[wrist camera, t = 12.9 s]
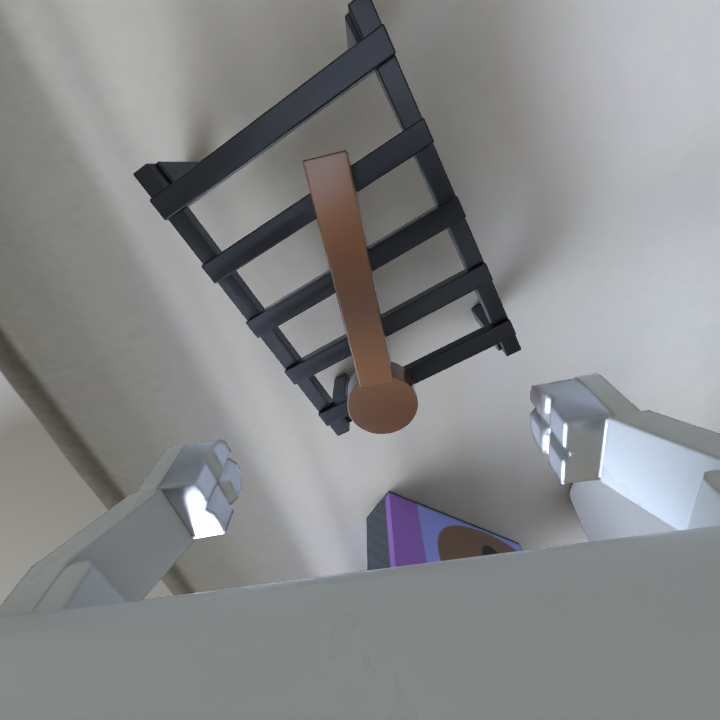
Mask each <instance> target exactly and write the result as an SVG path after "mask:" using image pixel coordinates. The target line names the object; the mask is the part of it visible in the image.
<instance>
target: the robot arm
mask: <svg viewBox="0 0 720 720" xmlns="http://www.w3.org/2000/svg"><path fill="white" fill-rule="evenodd" d="M530 400H531V401H532V403H533V404H534V406H535V409H534V410H533V411H532V412H531V414H530V420H531V428H532V433H533V436H534V439H535V441H536V443H537V445H538V447H539V448H540V450H541V451H543V452H545V453H547V454H549V465H550V466H551V468H552V469H553V471H554V473H555V474H556V476H557V477H558V479H559V480H560V482H561V484H568V483H577V482H585V481H593V480H601V482H602V483H604V484H605V485H607V486H609V487H610V488H612V489H613V490H615V491H617V492H618V493H620V494H621V495H623V496H624V497H626V498H628V499H629V500H631V501H632V502H634V503H636V504H637V505H639V506H640V507H642V508H643V509H645V510H647V511H648V512H650V513H651V514H653V515H655V516H656V517H658V518H659V519H661V520H662V521H664V522H666V523H667V524H669V525H670V526H672V527H674V528H675V529H677V531H670V532H662V533H654V534H647V535H639V536H631V537H623V538H616V539H608V540H600V541H592V542H585V543H577V544H569V545H562V546H554V547H546V548H538V549H531V550H523V551H515V552H507V553H499V554H492V555H484V556H476V557H468V558H461V559H453V560H445V561H437V562H430V563H422V564H414V565H406V566H399V567H391V568H383V569H376V570H368V571H360V572H352V573H345V574H337V575H329V576H321V577H314V578H306V579H298V580H291V581H283V582H275V583H267V584H260V585H252V586H244V587H236V588H229V589H221V590H213V591H206V592H198V593H190V594H182V595H175V596H167V597H159V598H152V599H144V598H145V597H146V596H147V594H148V593H149V592H150V591H151V590H152V589H153V587H154V586H155V585H156V584H157V583H158V582H159V581H160V579H161V578H162V577H163V576H164V575H165V574H166V573H167V571H168V570H169V569H170V568H171V567H172V566H173V565H174V563H175V562H176V561H177V560H178V559H179V558H180V557H181V555H182V554H183V553H184V552H185V551H186V550H187V548H188V547H189V546H190V545H191V544H192V543H193V542H194V539H196V538H201V537H207V536H213V535H218V534H224V533H226V530H227V527H228V525H229V522H230V519H231V517H232V514H233V509H232V507H231V504H232V503H233V502H234V501H235V500H236V499H237V498H238V497H239V494H240V491H241V488H242V476H241V472H240V468H239V466H238V464H237V463H236V462H235V461H233V460H232V459H230V458H228V457H229V454H230V451H231V450H230V448H229V447H228V445H227V443H226V441H223V440H215V441H208V442H202V443H195V444H188V445H183V446H177V447H171V448H169V449H167V450H165V452H164V453H163V454H162V456H161V457H160V459H159V460H158V462H157V463H156V465H155V466H154V468H153V469H152V471H151V472H150V474H149V475H148V476H147V478H146V479H145V481H144V482H143V484H142V485H141V487H140V488H139V490H138V491H137V493H135V494H130V495H129V496H127V497H126V498H125V499H123V500H122V501H121V502H119V503H118V504H117V505H115V506H114V507H112V508H111V509H110V510H108V511H107V512H106V513H104V514H103V515H102V516H100V517H99V518H97V519H96V520H95V521H93V522H92V523H91V524H89V525H88V526H87V527H85V528H84V529H83V530H81V531H80V532H78V533H77V534H76V535H74V536H73V537H72V538H70V539H69V540H68V541H66V542H65V543H63V544H62V545H61V546H59V547H58V548H57V549H55V550H54V551H53V552H51V553H50V554H48V555H47V556H46V557H44V558H43V559H42V560H40V561H39V562H37V563H36V564H35V565H33V566H32V567H31V568H30V570H29V571H28V572H27V573H26V575H25V576H24V577H23V578H22V579H21V581H20V582H19V583H18V584H17V586H16V587H15V588H14V590H13V591H12V592H11V593H10V594H9V595H8V597H7V598H6V599H5V600H4V602H3V603H2V604H1V605H0V720H720V434H719V433H716V432H713V431H710V430H707V429H704V428H700V427H697V426H694V425H691V424H688V423H685V422H682V421H679V420H676V419H673V418H670V417H667V416H664V415H661V414H658V413H655V412H652V411H649V410H648V411H642V412H641V411H640V410H639V409H638V408H637V407H636V406H635V405H633V404H632V403H631V402H630V401H629V400H628V399H627V398H626V397H624V396H623V395H622V394H621V393H620V392H619V391H618V390H617V389H615V388H614V387H613V386H612V385H611V384H610V383H609V382H608V381H606V380H605V379H604V378H603V377H602V376H601V375H599V374H590V375H585V376H580V377H575V378H573V379H568V380H562V381H557V382H551V383H546V384H540V385H535V386H532V388H531V391H530ZM143 599H144V600H143Z"/></svg>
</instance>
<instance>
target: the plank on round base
mask: <svg viewBox="0 0 720 720" xmlns="http://www.w3.org/2000/svg"><path fill="white" fill-rule="evenodd" d="M303 165H304V169H305V173H306V177H307V181H308V185H309V189H310V193H311V197H312V201H313V205H314V208H315V212H316V216H317V220H318V224H319V228H320V232H321V236H322V240H323V244H324V248H325V252H326V256H327V259H328V263H329V267H330V271H331V275H332V279H333V283H334V287H335V291H336V295H337V299H338V303H339V307H340V310H341V314H342V318H343V322H344V326H345V330H346V334H347V338H348V342H349V346H350V350H351V354H352V358H353V362H354V365H355V369H356V371H355V373H354V374H353V375H352V377H351V379H350V381H349V385H348V399H347V409H348V413H349V416H350V417H351V419H352V420H353V422H354V423H355V424H356V425H357V426H359V427H360V428H362V429H363V430H365V431H368V432H371V433H376V434H386V433H392V432H395V431H398V430H400V429H402V428H404V427H405V426H406V425H408V424H409V423H410V422H411V420H412V419H413V418H414V416H415V414H416V411H417V407H418V401H417V396H416V392H415V388H414V384H413V380H412V377H411V376H410V374H409V373H408V371H407V370H406V369H404V368H403V367H402V366H400V365H398V364H396V363H394V362H390V356H389V351H388V346H387V341H386V336H385V332H384V327H383V322H382V317H381V312H380V307H379V302H378V297H377V292H376V287H375V282H374V277H373V272H372V267H371V262H370V257H369V252H368V247H367V242H366V237H365V232H364V227H363V222H362V217H361V212H360V208H359V203H358V198H357V193H356V188H355V183H354V178H353V173H352V168H351V163H350V158H349V153H348V152H347V151H346V150H344V151H340V152H336V153H332V154H328V155H324V156H320V157H316V158H312V159H308V160H304V161H303Z"/></svg>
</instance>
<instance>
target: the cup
mask: <svg viewBox="0 0 720 720" xmlns="http://www.w3.org/2000/svg"><path fill="white" fill-rule="evenodd" d="M570 499H571V501H572V503H573V506H574V508H575V510H576V513H577V515H578V517H579V520H580V522H581V524H582V527H583V529H584V531H585V534H586V536H587V538H588V541H589V542H592V541H600V540H608V539H616V538H623V537H631V536H639V535H647V534H654V533H662V532H670V531H677V529H675V528H674V527H672V526H670V525H669V524H667V523H666V522H664V521H662V520H661V519H659V518H658V517H656V516H655V515H653V514H651V513H650V512H648V511H647V510H645V509H643V508H642V507H640V506H639V505H637V504H636V503H634V502H632V501H631V500H629V499H628V498H626V497H624V496H623V495H621V494H620V493H618V492H617V491H615V490H613V489H612V488H610V487H609V486H607V485H605V484H604V483H602V482H601V480H593V481H585V482H577V483H573V485H572V487H571V489H570Z"/></svg>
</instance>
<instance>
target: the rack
mask: <svg viewBox="0 0 720 720" xmlns="http://www.w3.org/2000/svg"><path fill="white" fill-rule="evenodd" d="M348 12H349V13H348V14H346V16H345V22H346V32H347V42H348V50H347V51H346V52H345V53H343V54H342V55H341V56H339V57H338V58H337V59H335V60H334V61H333V62H331V63H330V64H329V65H327V66H326V67H325V68H323V69H322V70H321V71H319V72H318V73H317V74H315V75H314V76H313V77H311V78H310V79H309V80H308V81H306V82H305V83H304V84H302V85H301V86H300V87H298V88H297V89H296V90H294V91H293V92H292V93H290V94H289V95H288V96H286V97H285V98H284V99H282V100H281V101H280V102H278V103H277V104H276V105H274V106H273V107H272V108H270V109H269V110H268V111H267V112H265V113H264V114H263V115H261V116H260V117H259V118H257V119H256V120H255V121H253V122H252V123H251V124H249V125H248V126H247V127H245V128H244V129H243V130H241V131H240V132H239V133H237V134H236V135H235V136H233V137H232V138H231V139H229V140H228V141H227V142H226V143H224V144H223V145H222V146H220V147H219V148H218V149H216V150H215V151H214V152H212V153H211V154H210V155H208V156H207V157H206V158H204V159H203V160H202V161H200V162H158V163H156V164H145V165H144V166H143V167H142V168H140V169H139V170H138V171H136V172H135V173H134V174H133V175H134V176H135V177H136V179H137V180H138V181H139V182H140V184H141V185H142V186H143V188H144V189H145V190H146V191H147V193H148V194H149V195H150V197H151V199H150V202H151V203H152V204H153V206H154V207H155V208H156V209H157V211H158V212H159V213H160V214H161V216H162V217H163V218H164V219H165V220H169V221H170V222H171V223H172V225H173V226H174V227H175V228H176V230H177V231H178V232H179V234H180V235H181V236H182V237H183V239H184V240H185V241H186V242H187V244H188V245H189V246H190V248H191V249H192V250H193V251H194V253H195V254H196V255H197V257H198V258H199V259H200V260H201V262H202V263H203V265H202V268H203V269H204V270H205V272H206V273H207V274H208V275H209V277H210V278H211V279H212V280H213V282H214V283H217V282H218V283H219V285H220V286H221V287H222V288H223V290H224V291H225V292H226V294H227V295H228V296H229V297H230V299H231V300H232V301H233V303H234V304H235V305H236V306H237V308H238V309H239V310H240V311H241V313H242V314H243V315H244V317H245V318H246V319H247V322H246V324H247V325H248V326H249V328H250V329H251V330H252V331H253V333H254V334H255V335H256V336H257V338H258V337H261V338H262V340H263V341H264V342H265V343H266V345H267V346H268V347H269V349H270V350H271V351H272V352H273V354H274V355H275V356H276V357H277V359H278V360H279V361H280V363H281V364H282V365H283V366H284V368H285V373H286V374H287V376H288V377H289V378H290V379H291V381H292V382H293V383H294V384H298V386H299V387H300V388H301V389H302V391H303V392H304V393H305V395H306V396H307V397H308V398H309V400H310V401H311V402H312V403H313V405H314V406H315V407H316V409H317V410H318V411H319V416H320V417H321V419H322V420H323V421H324V422H325V424H326V425H327V426H328V425H330V426H331V428H332V429H333V430H334V432H335V433H336V434H337V435H338V436H339V435H341V434H343V433H346V432H348V431H349V424H350V423H349V422H351V421H352V419H351V417H350V416H349V413H348V409H347V399H348V385H349V381H350V378H349V377H348V375H347V374H346V373H345V374H344V375H342V376H340V377H338V378H336V379H335V381H334V390H333V398H331V397H330V396H329V394H328V393H327V392H326V390H325V389H324V388H323V386H322V385H321V384H320V382H319V381H318V380H317V378H316V377H315V376H314V374H316V373H318V372H320V371H322V370H324V369H326V368H328V367H330V366H331V365H333V364H335V363H337V362H339V361H341V360H343V359H345V358H347V357H348V356H350V355H352V354H351V350H350V346H349V342H348V338H347V334H345V335H343V336H341V337H339V338H338V339H336V340H334V341H332V342H330V343H328V344H327V345H325V346H323V347H321V348H319V349H317V350H316V351H314V352H312V353H310V354H308V355H306V356H305V357H303V358H301V357H300V356H299V354H298V353H297V352H296V350H295V349H294V348H293V346H292V345H291V344H290V342H289V341H288V340H287V338H286V337H285V336H284V334H283V333H282V332H281V330H280V329H279V328H278V326H279V325H281V324H283V323H284V322H286V321H288V320H290V319H291V318H293V317H295V316H296V315H298V314H300V313H302V312H303V311H305V310H307V309H308V308H310V307H312V306H314V305H315V304H317V303H319V302H321V301H322V300H324V299H326V298H327V297H329V296H331V295H333V294H334V293H336V291H335V287H334V283H333V279H332V275H331V271H330V270H328V271H327V272H325V273H323V274H322V275H320V276H318V277H317V278H315V279H313V280H312V281H310V282H308V283H307V284H305V285H303V286H302V287H300V288H298V289H297V290H295V291H293V292H292V293H290V294H288V295H287V296H285V297H283V298H282V299H280V300H278V301H277V302H275V303H273V304H272V305H270V306H268V307H267V308H265V309H264V307H263V306H262V305H261V303H260V302H259V301H258V299H257V298H256V297H255V295H254V294H253V293H252V291H251V290H250V289H249V287H248V286H247V285H246V283H245V282H244V281H243V279H242V278H241V277H240V275H239V274H238V273H237V271H236V270H237V269H239V268H240V267H242V266H244V265H245V264H247V263H248V262H250V261H251V260H253V259H254V258H256V257H258V256H259V255H261V254H262V253H264V252H265V251H267V250H268V249H270V248H271V247H273V246H275V245H276V244H278V243H279V242H281V241H282V240H284V239H285V238H287V237H289V236H290V235H292V234H293V233H295V232H296V231H298V230H299V229H301V228H302V227H304V226H306V225H307V224H309V223H310V222H312V221H313V220H315V219H316V218H317V216H316V212H315V208H314V205H313V201H312V197H311V193H310V194H308V195H307V196H305V197H304V198H302V199H301V200H299V201H298V202H296V203H295V204H293V205H292V206H290V207H289V208H287V209H286V210H284V211H283V212H281V213H280V214H278V215H277V216H275V217H274V218H272V219H271V220H269V221H268V222H266V223H265V224H263V225H262V226H260V227H259V228H257V229H256V230H254V231H253V232H251V233H250V234H248V235H247V236H245V237H244V238H242V239H241V240H239V241H238V242H236V243H235V244H233V245H232V246H230V247H229V248H227V249H226V250H224V251H223V252H222V251H221V250H220V249H219V247H218V246H217V245H216V243H215V242H214V241H213V239H212V238H211V237H210V235H209V234H208V233H207V231H206V230H205V229H204V227H203V226H202V225H201V223H200V222H199V221H198V219H197V218H196V217H195V215H194V214H193V213H192V211H191V210H190V209H189V206H190V205H192V204H193V203H194V202H196V201H197V200H199V199H200V198H201V197H203V196H204V195H205V194H207V193H208V192H210V191H211V190H212V189H214V188H215V187H216V186H218V185H219V184H221V183H222V182H223V181H225V180H226V179H227V178H229V177H230V176H232V175H233V174H234V173H236V172H237V171H238V170H240V169H241V168H243V167H244V166H245V165H247V164H248V163H250V162H251V161H252V160H254V159H255V158H256V157H258V156H259V155H261V154H262V153H263V152H265V151H266V150H267V149H269V148H270V147H272V146H273V145H274V144H276V143H277V142H278V141H280V140H281V139H283V138H284V137H285V136H287V135H288V134H290V133H291V132H292V131H294V130H295V129H296V128H298V127H299V126H301V125H302V124H303V123H305V122H306V121H307V120H309V119H310V118H312V117H313V116H314V115H316V114H317V113H318V112H320V111H321V110H323V109H324V108H325V107H327V106H328V105H329V104H331V103H332V102H334V101H335V100H336V99H338V98H339V97H341V96H342V95H343V94H345V93H346V92H347V91H349V90H350V89H352V88H353V87H354V86H356V85H357V84H358V83H360V82H361V81H363V80H364V79H365V78H367V77H368V76H369V75H371V74H372V73H374V72H375V73H376V75H377V77H378V79H379V81H380V84H381V86H382V88H383V90H384V92H385V95H386V97H387V99H388V101H389V103H390V106H391V108H392V110H393V112H394V114H395V117H396V119H397V121H398V123H399V125H400V127H401V130H402V132H401V133H400V134H398V135H397V136H395V137H394V138H392V139H391V140H389V141H388V142H386V143H385V144H383V145H382V146H380V147H379V148H377V149H376V150H374V151H373V152H371V153H370V154H368V155H367V156H365V157H364V158H362V159H361V160H359V161H358V162H356V163H355V164H353V165H352V166H351V168H352V173H353V178H354V183H355V188H356V193H357V192H358V191H360V190H361V189H363V188H364V187H366V186H368V185H369V184H371V183H372V182H374V181H375V180H377V179H378V178H380V177H381V176H383V175H385V174H386V173H388V172H389V171H391V170H392V169H394V168H395V167H397V166H399V165H400V164H402V163H403V162H405V161H406V160H408V159H409V158H411V157H412V156H414V158H415V160H416V163H417V165H418V167H419V169H420V171H421V174H422V176H423V178H424V180H425V182H426V184H427V187H428V189H429V191H430V193H431V195H432V198H433V200H434V202H435V204H436V206H435V207H433V208H432V209H430V210H428V211H427V212H425V213H423V214H422V215H420V216H418V217H417V218H415V219H413V220H412V221H410V222H408V223H407V224H405V225H403V226H402V227H400V228H398V229H397V230H395V231H393V232H392V233H390V234H388V235H387V236H385V237H383V238H382V239H380V240H378V241H377V242H375V243H373V244H372V245H370V246H368V252H369V257H370V262H371V267H372V271H374V270H376V269H377V268H379V267H381V266H383V265H384V264H386V263H388V262H390V261H391V260H393V259H395V258H396V257H398V256H400V255H402V254H403V253H405V252H407V251H408V250H410V249H412V248H414V247H415V246H417V245H419V244H421V243H422V242H424V241H426V240H427V239H429V238H431V237H433V236H434V235H436V234H438V233H440V232H441V231H443V230H445V229H446V228H447V231H448V233H449V235H450V237H451V239H452V241H453V244H454V246H455V248H456V250H457V252H458V255H459V257H460V259H461V261H462V263H463V266H464V268H465V269H464V270H462V271H461V272H459V273H457V274H455V275H453V276H451V277H450V278H448V279H446V280H444V281H442V282H440V283H439V284H437V285H435V286H433V287H431V288H429V289H428V290H426V291H424V292H422V293H420V294H418V295H417V296H415V297H413V298H411V299H409V300H407V301H406V302H404V303H402V304H400V305H398V306H396V307H395V308H393V309H391V310H389V311H387V312H385V313H384V314H382V315H381V317H382V322H383V327H384V332H385V336H388V335H390V334H392V333H394V332H396V331H398V330H400V329H402V328H404V327H405V326H407V325H409V324H411V323H413V322H415V321H417V320H419V319H421V318H423V317H424V316H426V315H428V314H430V313H432V312H434V311H436V310H438V309H440V308H442V307H443V306H445V305H447V304H449V303H451V302H453V301H455V300H457V299H459V298H460V297H462V296H464V295H466V294H468V293H470V292H472V291H474V290H475V292H476V294H477V296H478V298H479V301H480V303H481V304H480V305H478V306H476V307H474V308H472V309H471V310H472V312H473V314H474V316H475V319H476V321H477V322H478V323H479V325H480V326H481V327H482V328H480V329H478V330H476V331H474V332H472V333H470V334H468V335H466V336H464V337H462V338H460V339H458V340H456V341H454V342H452V343H450V344H448V345H446V346H444V347H442V348H440V349H438V350H436V351H434V352H432V353H430V354H428V355H426V356H424V357H422V358H420V359H418V360H416V361H414V362H412V363H410V364H408V365H406V366H404V367H403V368H404V369H406V370H407V371H408V373H409V374H410V376H411V377H412V380H413V384H416V383H418V382H420V381H422V380H424V379H426V378H428V377H430V376H432V375H434V374H436V373H438V372H440V371H442V370H445V369H447V368H449V367H451V366H453V365H455V364H457V363H459V362H461V361H463V360H465V359H467V358H469V357H472V356H474V355H476V354H478V353H480V352H482V351H484V350H486V349H488V348H490V347H492V346H494V345H495V346H496V348H497V349H498V350H502V351H503V352H504V353H505V354H506V356H509V355H511V354H513V353H515V352H517V351H519V350H521V347H520V345H519V343H518V340H517V338H516V336H515V335H516V333H515V331H514V328H513V326H512V323H511V321H510V320H509V319H508V317H507V315H506V312H505V310H504V308H503V305H502V303H501V301H500V298H499V296H498V294H497V291H496V289H495V287H494V284H493V282H492V280H493V279H492V277H491V274H490V272H489V269H488V267H487V265H486V263H485V262H484V261H483V259H482V256H481V254H480V252H479V249H478V247H477V245H476V242H475V240H474V238H473V235H472V233H471V231H470V228H469V226H468V224H467V221H466V219H465V217H466V215H465V213H464V211H463V208H462V206H461V204H460V201H459V199H458V197H457V196H455V193H454V191H453V189H452V186H451V184H450V182H449V179H448V177H447V175H446V172H445V170H444V168H443V165H442V163H441V161H440V158H439V156H438V154H437V151H436V149H435V147H434V144H433V143H434V140H433V138H432V136H431V133H430V131H429V129H428V126H427V124H426V122H425V119H424V118H422V116H421V114H420V112H419V109H418V107H417V105H416V102H415V100H414V98H413V95H412V93H411V91H410V88H409V86H408V83H407V81H406V79H405V76H404V74H403V72H402V69H401V67H400V65H399V62H398V60H397V58H396V55H395V53H396V52H395V49H394V47H393V44H392V42H391V40H390V37H389V35H388V33H387V30H386V28H385V26H384V24H382V23H381V20H380V18H379V16H378V13H377V11H376V9H375V6H374V4H373V2H372V0H353V1H352V2H351V3H349V5H348Z"/></svg>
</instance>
